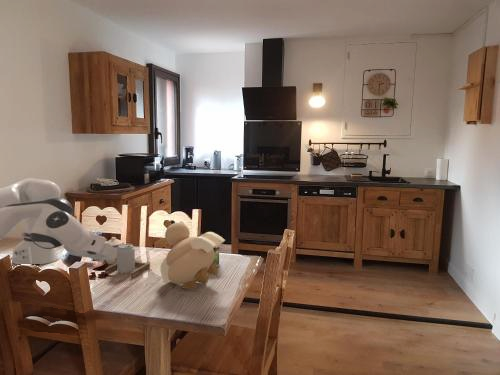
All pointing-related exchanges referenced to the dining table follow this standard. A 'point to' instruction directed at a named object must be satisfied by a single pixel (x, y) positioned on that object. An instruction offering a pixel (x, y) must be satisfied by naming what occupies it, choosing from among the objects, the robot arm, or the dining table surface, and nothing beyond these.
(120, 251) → the can
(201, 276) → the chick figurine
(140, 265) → the frame
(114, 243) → the teacup with lid
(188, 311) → the dining table surface
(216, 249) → the coffee can
